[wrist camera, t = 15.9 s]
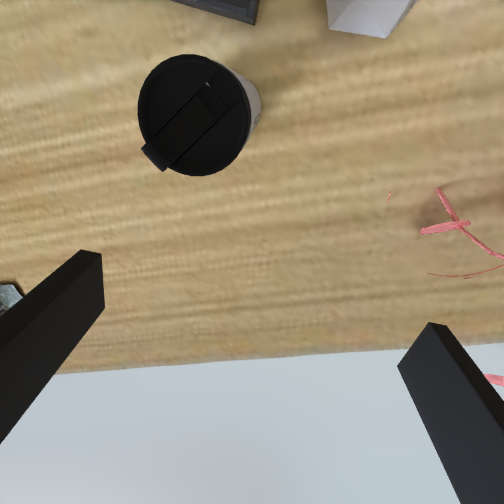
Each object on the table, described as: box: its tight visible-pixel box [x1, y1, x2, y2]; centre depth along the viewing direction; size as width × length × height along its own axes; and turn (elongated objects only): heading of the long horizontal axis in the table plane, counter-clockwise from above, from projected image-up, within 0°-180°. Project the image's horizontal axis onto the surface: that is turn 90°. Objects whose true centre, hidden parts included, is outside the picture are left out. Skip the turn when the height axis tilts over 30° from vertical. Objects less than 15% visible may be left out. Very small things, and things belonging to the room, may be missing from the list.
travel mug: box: [138, 54, 261, 176], centre depth 24 cm, size 6×7×20 cm
